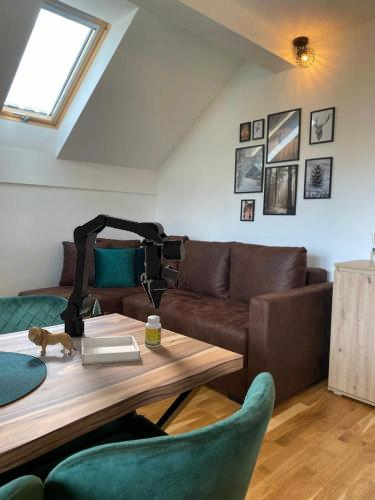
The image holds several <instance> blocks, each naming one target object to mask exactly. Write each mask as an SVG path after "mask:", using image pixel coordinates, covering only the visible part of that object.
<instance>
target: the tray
mask: <svg viewBox="0 0 375 500" xmlns="http://www.w3.org/2000/svg"><path fill="white" fill-rule="evenodd" d="M80 339H81V341H80V347H81V348H80V350H81V365H82V366H85V365H99V364H111V363H124V362H137V361H138V362H139V361H141V349H140V348H139V345H138V343H137V340H136V339H135V337H134V334H133V335H117V336H116V335H115V336H99V337H96V336H95V337H81V338H80Z"/></svg>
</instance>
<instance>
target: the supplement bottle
mask: <svg viewBox="0 0 375 500" xmlns="http://www.w3.org/2000/svg"><path fill="white" fill-rule="evenodd" d="M160 318H161V317H160V316H158V315H150V316H148V317H147V322H146V324H145V334H144V345H145V346H146V347H148V348H159V347H160V346H161V342H162V323H161V322H160V320H161V319H160Z"/></svg>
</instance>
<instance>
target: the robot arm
mask: <svg viewBox="0 0 375 500" xmlns="http://www.w3.org/2000/svg"><path fill="white" fill-rule="evenodd" d="M107 227H108V228H111V229H116V230H121V231H125V232H129V233H133V234H135V235H137V236H139V237H141V238H143V239H142V240H141V242H140V243H138V246H139V247H144V257H145V258H144V262H143V263H144V264H143V265H144V268H145V269H144V270H145V272H143V273H142V274H141V275H140V281H141V285H142V287H143V289H144V291H145V293H146V296H147V299H148V301H149V303H150V304H153V306H154V309H155V310H159V309H160V306H161V301H162V297H163V294H164V293H165V292H167V291H168V290H169V289H170V282H169V281H168V280H167V279H170V280H173V281H175V282H177V281H178V279H179V275H180V271H178V270H176V269H174V266H172V265H169V264H168V265H167V266H165V263H164V262H163V258H164V259H165V260H166V261H184V260H185V257H186V247H185V244H184V240H183V239H174V240H171V239H170V237H169V236H168V235H167V234H166V232H165V228H164V226H163V225H162V224H161V223H160V222H156V221H137V220H132V219H127V218H121V217H117V216H113V215H109V214H108V213H107V214H105V213H103V214H102V213H100V214H98V215H97V216H95V217H94V218H93V219H90V220H89V221H87V222H85V223H84V224H82V225H78V226H77V227H75V228H74V230H73V234H72V236H73V244H74V246H75V249H76V254H75V257H76V258H75V267H74V278H73V288H72V289H73V290H72V291H71V294H70V295H69V297H68V300H67V304H66V308H65V309H64V310H63V311H62V312H61V313H60V314H59V316H60V320H61V321H64V323H63V324H64V325H63V326H64V329H63V332H64V333H67V334H68V335H69V336H70V337H71V338H79V337H81V338H83V337H84V334H85V320H84V319H83V317H85V316H86V314H87V312H88V311H90V309H91V307H92V306H93V303H92V300H93V295H92V294H89V291H88V286H89V285H88V284H89V276H90V275H89V274H90V263H91V253H92V250H93V248H94V246H95V244H96V241H97V237H98V235H99V234H101V233H102V232H103V231H104V230H105V229H106V228H107ZM166 278H167V279H166Z"/></svg>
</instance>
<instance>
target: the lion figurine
mask: <svg viewBox="0 0 375 500" xmlns="http://www.w3.org/2000/svg"><path fill="white" fill-rule="evenodd" d="M27 338H28V340H29V341H30V342H31V343H33V344H35V346H36V347H37V346H38V347H41V351H40V356H41V357H45V356H46V354H47V352H46V351H47V347H48V346H56V345H58V344H61V345H62V347H63V349H60V352H61V353H64V352H65V351H66V350H67V351H69V352H67V355H68V356H71V355H73V351H74V352H78V351H79V350H78V349H77V348H75V346H74V344H73V340H72V337H70V336H69V335H68V334H67V333H64V331H62V332H57V333H52V332H50V331H48V330H47V329H45V328H43V327H39V326H32V327H31V328H29V329H28V333H27ZM69 343H70V344H69Z"/></svg>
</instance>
